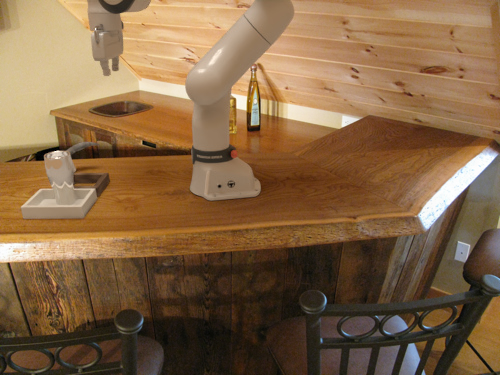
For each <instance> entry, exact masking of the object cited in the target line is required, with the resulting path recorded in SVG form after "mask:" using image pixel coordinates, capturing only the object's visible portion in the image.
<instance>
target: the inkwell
mask: <svg viewBox="0 0 500 375" xmlns="http://www.w3.org/2000/svg"><path fill="white" fill-rule="evenodd" d="M92 146H100V144H99V143H97V142H93V141H83V142H78V143H76V144H74V145H72V146H71V147H69V148H68V149H66V150H65V151H68V152H70V155H71V156H72V155H74V154H75V153H76V152H79V151H81V150H83V149H85V148H89V147H92ZM72 163H73V168H74V173H76V171H77V167H76V165H75V164H74V161H72Z"/></svg>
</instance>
